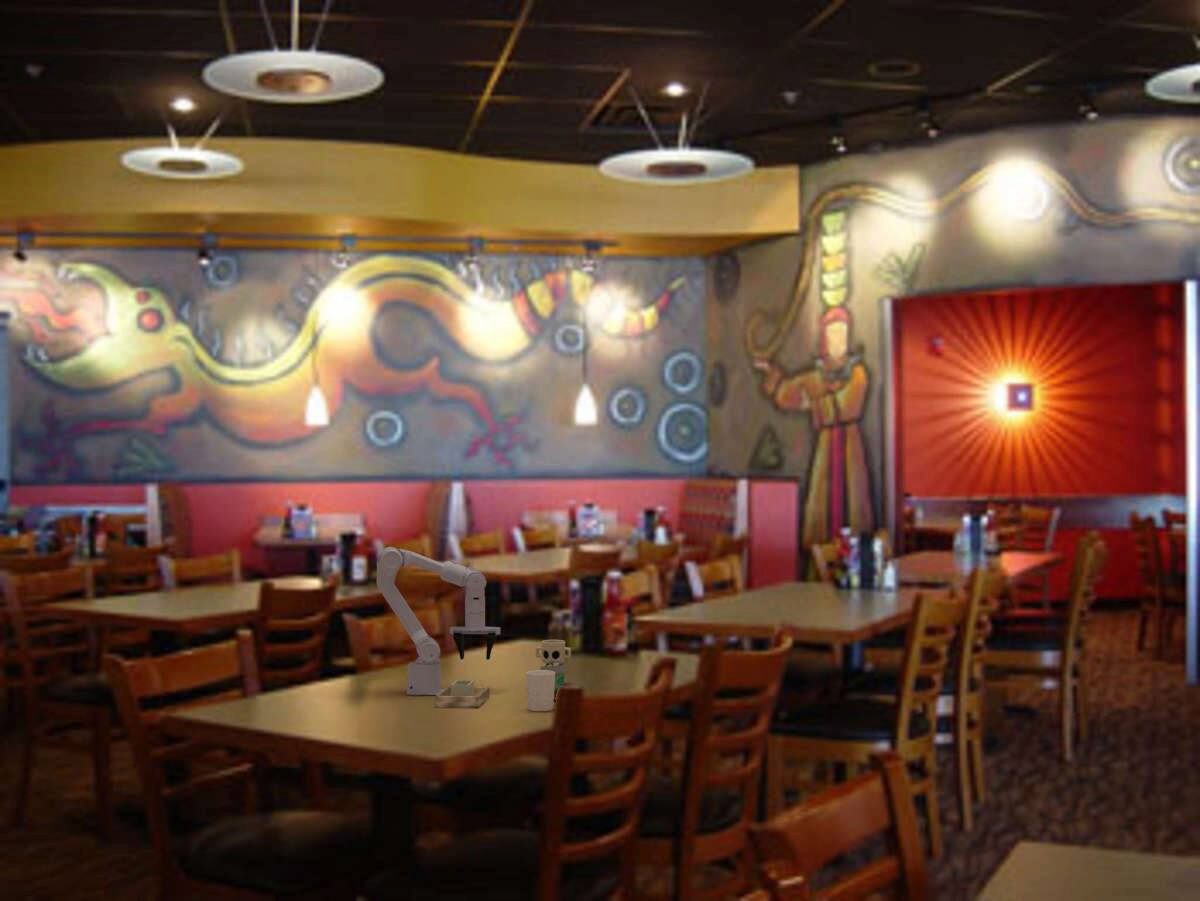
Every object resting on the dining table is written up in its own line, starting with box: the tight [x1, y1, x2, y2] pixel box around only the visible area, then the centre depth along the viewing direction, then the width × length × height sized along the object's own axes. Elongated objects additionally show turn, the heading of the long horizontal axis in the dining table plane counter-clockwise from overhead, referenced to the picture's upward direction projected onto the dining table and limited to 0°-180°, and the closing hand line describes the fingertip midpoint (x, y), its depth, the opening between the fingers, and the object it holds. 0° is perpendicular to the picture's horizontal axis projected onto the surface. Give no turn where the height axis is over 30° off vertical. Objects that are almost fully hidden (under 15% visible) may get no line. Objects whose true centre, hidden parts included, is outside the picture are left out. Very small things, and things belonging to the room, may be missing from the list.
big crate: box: [434, 686, 490, 709], centre depth 388 cm, size 12×16×3 cm
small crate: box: [450, 679, 475, 697], centre depth 388 cm, size 5×8×5 cm, turn 174°
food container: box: [539, 660, 568, 702], centre depth 393 cm, size 12×6×10 cm, turn 168°
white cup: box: [525, 669, 555, 712], centre depth 378 cm, size 8×8×10 cm
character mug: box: [535, 639, 572, 666], centre depth 418 cm, size 11×7×13 cm, turn 76°
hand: (475, 659), depth 406 cm, fingers open, 7 cm apart
